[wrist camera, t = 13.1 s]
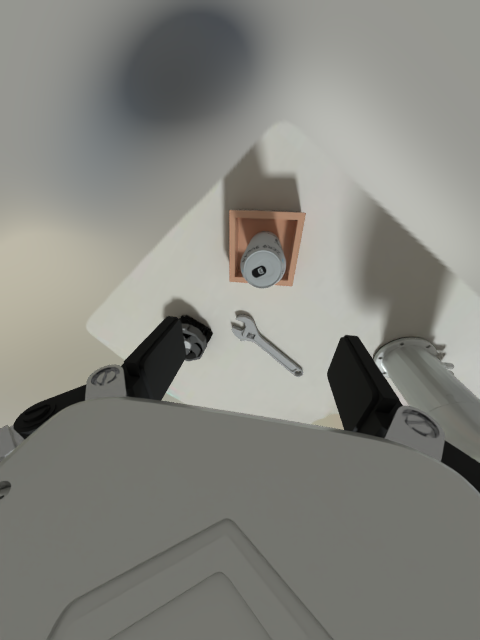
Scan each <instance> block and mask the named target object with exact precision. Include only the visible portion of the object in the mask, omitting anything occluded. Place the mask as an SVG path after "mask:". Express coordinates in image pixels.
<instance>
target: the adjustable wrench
mask: <svg viewBox="0 0 480 640" xmlns="http://www.w3.org/2000/svg"><path fill="white" fill-rule="evenodd" d="M236 320H239V321H242V322H245V326H246V327H245V328H244V329H241V328H239V327H236V326H234V325H233V327H232V331H233V333H234V334H235V336H237V337H238V338H239V339H240V341H245V340H247V341H252V342H254V343H256V344H257V345H258V346H260V347H261V348H262V349H263V350H264V351H266V352H267V353H268V354H269V355H270V356H272V357H273V358H274V359H275V360H276V361H278V362H279V363H280V364H281V365H282V366H284V367H285V368H286V369H287V370H288V371H290V372H291V373H292V374H293V375H294V376H297V377H300V376H302V375H303V370H302V369H301V368H300V367H299V366H298V365H296V364H295V363H294V362H293V361H292V360H290V359H289V358H288V357H287V356H285V355H284V354H283V353H282V352H281V351H279V350H278V349H277V348H276V347H274V346H273V345H272V344H271V343H269V342H268V341H267V340H266V339H265V338H263V337H262V336H261V334H260V333H259V331H258V329H257V327H256V324H255V322H254V320H253V319H252V318H251V317H250V316H248V315H242V314H241V315H238V316H237V317H236ZM253 336H254V337H253ZM295 371H301V372H300V373H295Z"/></svg>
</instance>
